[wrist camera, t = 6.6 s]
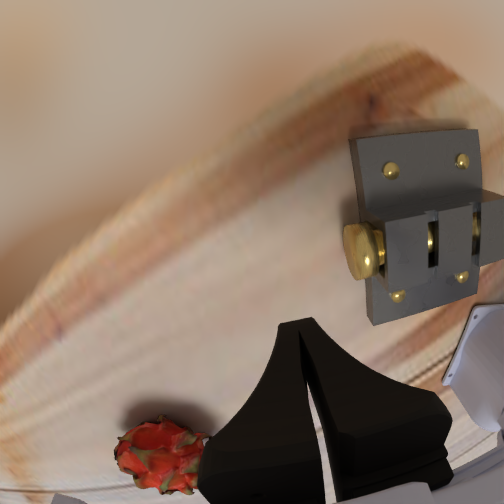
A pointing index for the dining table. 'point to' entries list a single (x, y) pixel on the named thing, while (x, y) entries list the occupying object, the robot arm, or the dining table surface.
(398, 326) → the dining table surface
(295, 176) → the dining table surface
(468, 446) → the dining table surface
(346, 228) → the pin
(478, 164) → the hinge leaves
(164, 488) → the dragon fruit
